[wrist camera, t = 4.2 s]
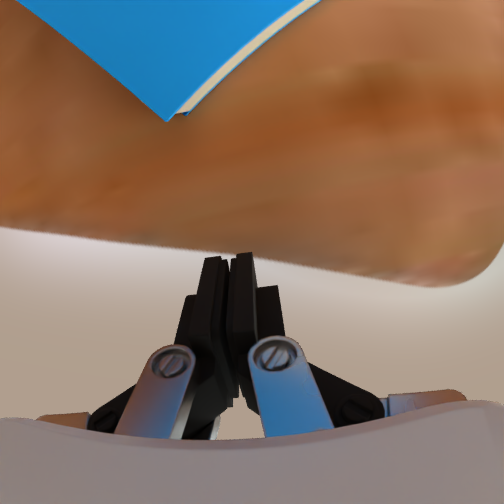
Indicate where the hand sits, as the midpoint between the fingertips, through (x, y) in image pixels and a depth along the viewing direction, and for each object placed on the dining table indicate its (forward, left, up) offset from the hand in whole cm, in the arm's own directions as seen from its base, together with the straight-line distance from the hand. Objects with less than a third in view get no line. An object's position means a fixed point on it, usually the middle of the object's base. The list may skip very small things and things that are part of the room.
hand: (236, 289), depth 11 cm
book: (-2, +21, -5) cm, 22 cm away
